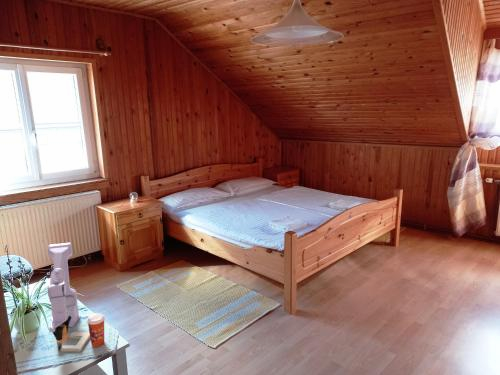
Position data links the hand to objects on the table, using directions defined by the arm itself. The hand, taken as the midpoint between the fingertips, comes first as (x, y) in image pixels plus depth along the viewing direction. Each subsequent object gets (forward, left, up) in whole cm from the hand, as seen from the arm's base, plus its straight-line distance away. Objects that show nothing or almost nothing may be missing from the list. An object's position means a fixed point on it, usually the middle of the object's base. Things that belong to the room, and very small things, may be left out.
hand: (62, 336), depth 162 cm
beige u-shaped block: (-8, +2, -9) cm, 12 cm away
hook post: (-4, -4, -9) cm, 10 cm away
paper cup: (-8, +12, -9) cm, 17 cm away
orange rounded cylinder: (0, 0, -2) cm, 2 cm away
